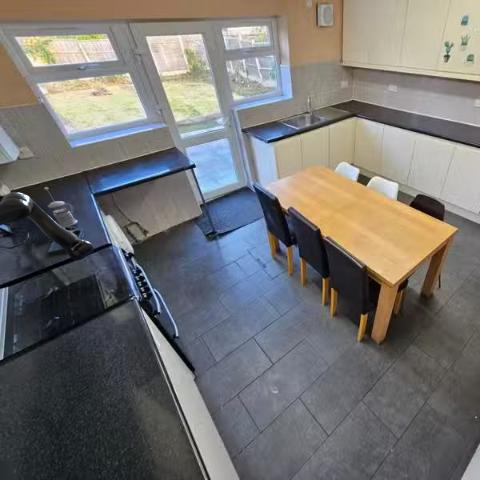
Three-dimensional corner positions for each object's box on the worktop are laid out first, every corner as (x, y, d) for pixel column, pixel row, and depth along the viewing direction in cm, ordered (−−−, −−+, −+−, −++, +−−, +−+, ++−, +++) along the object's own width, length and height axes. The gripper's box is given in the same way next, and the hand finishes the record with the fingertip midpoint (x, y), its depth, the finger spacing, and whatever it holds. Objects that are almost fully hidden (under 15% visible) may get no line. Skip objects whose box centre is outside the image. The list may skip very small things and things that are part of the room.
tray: (79, 248, 155) (76, 245, 153) (50, 256, 150) (47, 252, 149) (84, 232, 167) (82, 229, 166) (58, 238, 163) (55, 235, 161)
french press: (54, 226, 172) (30, 189, 158) (73, 217, 181) (52, 182, 167) (65, 228, 169) (41, 191, 155) (84, 219, 178) (63, 184, 164)
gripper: (79, 227, 148) (66, 217, 156) (48, 240, 139) (37, 230, 147) (86, 238, 153) (74, 228, 161) (57, 251, 144) (46, 240, 152)
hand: (56, 229), depth 154 cm, fingers closed on brush, 3 cm apart
